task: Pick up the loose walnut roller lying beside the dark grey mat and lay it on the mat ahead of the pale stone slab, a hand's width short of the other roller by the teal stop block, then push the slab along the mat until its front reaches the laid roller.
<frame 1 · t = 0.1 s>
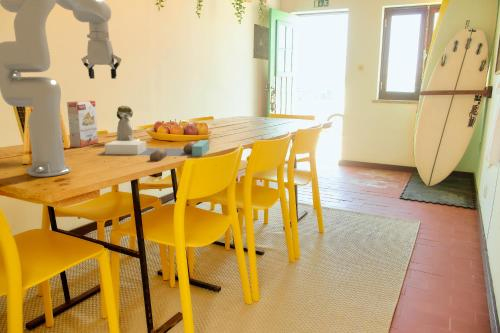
hand: (102, 78, 168), 31 cm above the table, tool pointing down, fingers open, 9 cm apart
slab: (126, 152, 165), point 1 cm above the table, touching mat
roller b: (190, 152, 165), point 1 cm above the table, touching mat
stop block: (201, 152, 164), resting on mat
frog: (127, 143, 191), on the table
cracker box: (85, 145, 186), on the table
mat: (155, 153, 166), on the table
roller a: (158, 160, 152), on the table
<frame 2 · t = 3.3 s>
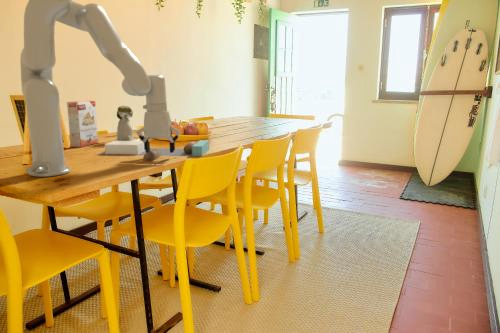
hand: (160, 152, 152), 3 cm above the table, tool pointing down, fingers open, 9 cm apart
roller a: (157, 155, 152), point 2 cm above the table, tilted 87°
everything else where it was.
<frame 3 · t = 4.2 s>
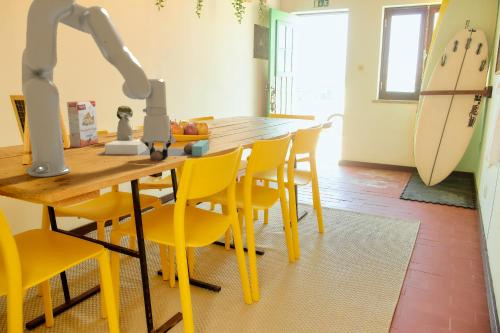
hand: (159, 158, 152), 1 cm above the table, tool pointing down, fingers closed on roller a, 4 cm apart
roller a: (160, 159, 152), on the table, tilted 10°, touching gripper
everything else where it was.
when the fingers open (1 cm above the table, at t = 9.2 s): roller a stays where it is, resting on mat.
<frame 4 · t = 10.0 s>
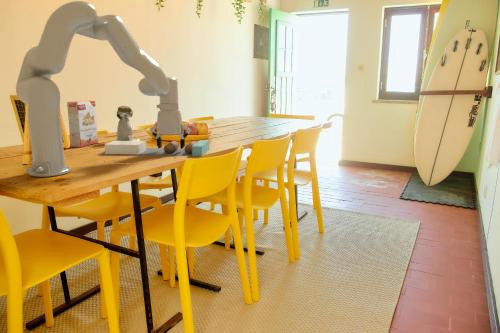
hand: (171, 148, 165), 2 cm above the table, tool pointing down, fingers open, 9 cm apart
roller b: (190, 152, 165), point 1 cm above the table, tilted 13°, touching mat
roller a: (171, 151, 165), point 1 cm above the table, touching mat
everything else where it was.
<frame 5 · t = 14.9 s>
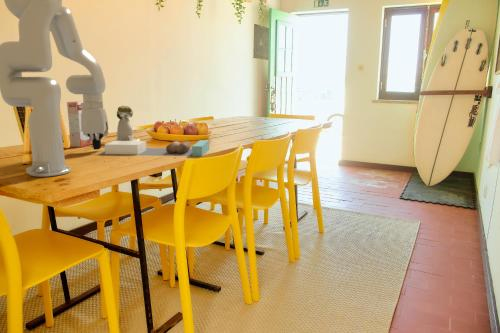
hand: (97, 148, 166), 2 cm above the table, tool pointing down, fingers closed
roller b: (188, 147, 164), point 2 cm above the table, tilted 87°, touching mat
roller a: (172, 151, 165), point 1 cm above the table, tilted 25°, touching mat
everything else where it was.
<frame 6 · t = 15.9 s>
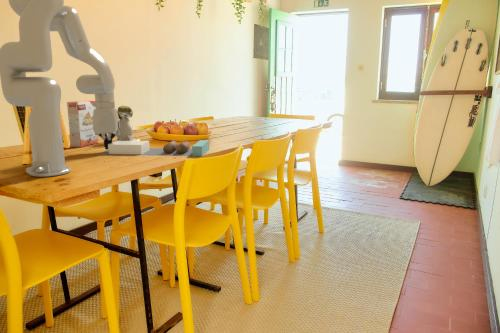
hand: (108, 148, 165), 2 cm above the table, tool pointing down, fingers closed
slab: (129, 152, 165), point 1 cm above the table, touching gripper, mat
roller b: (187, 147, 164), point 3 cm above the table, tilted 93°, touching mat
roller a: (171, 151, 165), point 1 cm above the table, tilted 12°, touching mat
everything else where it was.
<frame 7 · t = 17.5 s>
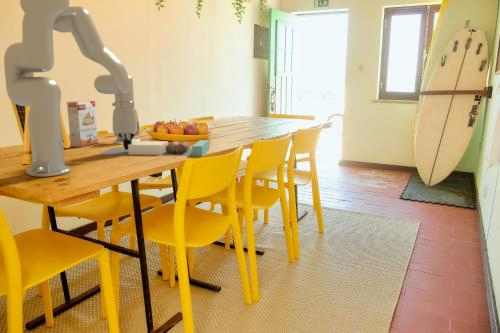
hand: (128, 149, 165), 2 cm above the table, tool pointing down, fingers closed
slab: (149, 152, 164), point 1 cm above the table, touching gripper, mat
roller b: (187, 146, 164), point 3 cm above the table, tilted 101°, touching mat
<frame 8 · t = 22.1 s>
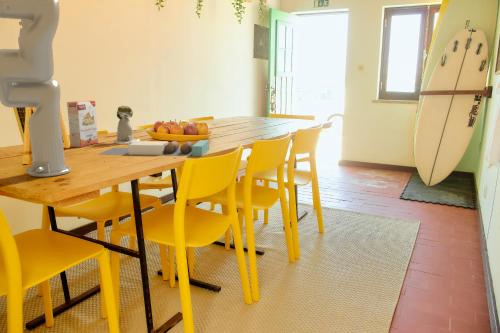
hand: (39, 75, 146), 32 cm above the table, tool pointing down, fingers closed
slab: (149, 152, 164), point 1 cm above the table, touching mat
roller b: (190, 151, 165), point 1 cm above the table, tilted 40°, touching mat
roller a: (172, 151, 165), point 1 cm above the table, touching mat
everything else where it was.
at the end: slab inside the target area (1.1 cm from its centre), point 0.6 cm above the table; slab moved 10.0 cm from its start; roller a inside the target area (0.7 cm from its centre), point 0.6 cm above the table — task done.
